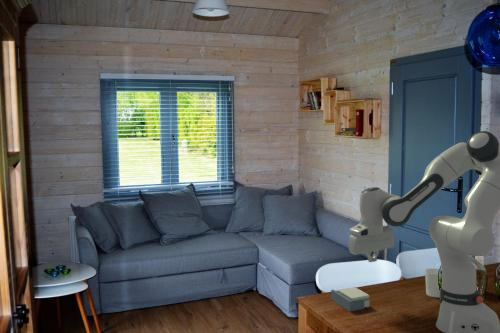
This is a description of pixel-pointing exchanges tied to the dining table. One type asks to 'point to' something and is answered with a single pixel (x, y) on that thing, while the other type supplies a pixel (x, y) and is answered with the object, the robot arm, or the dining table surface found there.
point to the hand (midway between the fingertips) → (372, 261)
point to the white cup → (432, 283)
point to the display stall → (346, 302)
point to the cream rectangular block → (355, 295)
